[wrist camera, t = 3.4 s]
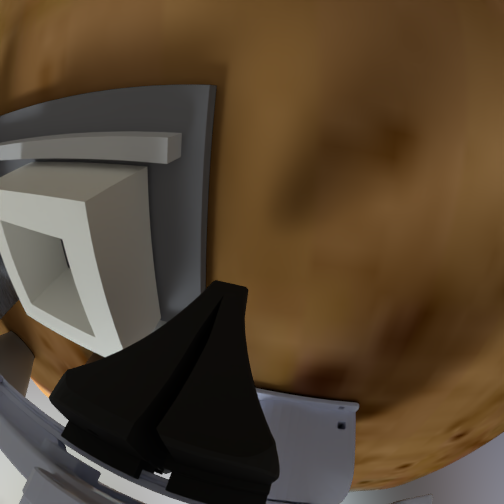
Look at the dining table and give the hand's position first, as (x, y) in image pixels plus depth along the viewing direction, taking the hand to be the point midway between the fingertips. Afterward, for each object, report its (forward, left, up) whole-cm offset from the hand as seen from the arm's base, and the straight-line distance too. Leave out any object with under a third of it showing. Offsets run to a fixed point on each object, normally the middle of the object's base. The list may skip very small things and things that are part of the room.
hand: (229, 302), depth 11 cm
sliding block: (+9, 0, -2) cm, 9 cm away
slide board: (+12, 0, -3) cm, 12 cm away
